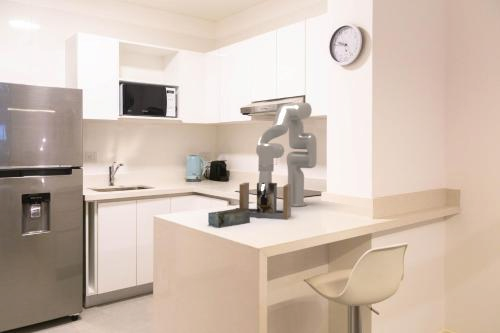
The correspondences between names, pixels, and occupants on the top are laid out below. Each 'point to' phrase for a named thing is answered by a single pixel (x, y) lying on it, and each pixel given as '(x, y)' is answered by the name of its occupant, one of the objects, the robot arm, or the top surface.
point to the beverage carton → (229, 217)
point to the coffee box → (268, 199)
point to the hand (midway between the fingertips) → (265, 203)
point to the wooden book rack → (253, 212)
